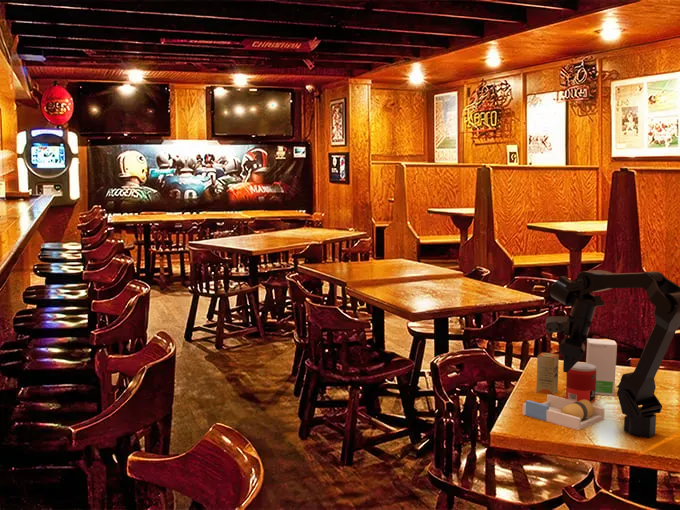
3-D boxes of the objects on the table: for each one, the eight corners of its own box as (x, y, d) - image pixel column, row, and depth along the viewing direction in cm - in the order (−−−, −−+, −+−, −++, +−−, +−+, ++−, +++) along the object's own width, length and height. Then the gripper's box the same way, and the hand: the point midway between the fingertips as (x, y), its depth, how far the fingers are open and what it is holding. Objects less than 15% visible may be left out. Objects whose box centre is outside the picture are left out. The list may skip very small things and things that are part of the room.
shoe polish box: (536, 395, 227) (537, 355, 225) (541, 391, 231) (542, 352, 229) (553, 398, 224) (554, 357, 223) (557, 393, 228) (558, 354, 227)
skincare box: (585, 394, 228) (587, 342, 226) (584, 387, 234) (585, 337, 232) (615, 396, 226) (617, 344, 224) (613, 389, 232) (615, 339, 230)
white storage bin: (603, 423, 202) (604, 404, 202) (578, 434, 194) (579, 415, 193) (548, 408, 215) (549, 390, 214) (522, 418, 206) (522, 399, 206)
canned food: (596, 408, 215) (598, 369, 213) (566, 406, 216) (568, 368, 215) (593, 399, 222) (594, 362, 221) (564, 398, 224) (565, 361, 223)
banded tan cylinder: (576, 415, 206) (577, 397, 205) (593, 419, 202) (594, 401, 201) (560, 421, 200) (560, 403, 200) (577, 426, 197) (577, 407, 196)
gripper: (556, 294, 216) (542, 342, 222) (547, 318, 199) (532, 370, 205) (596, 305, 212) (581, 354, 218) (590, 330, 196) (574, 383, 202)
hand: (567, 364), depth 211 cm, fingers open, 9 cm apart
